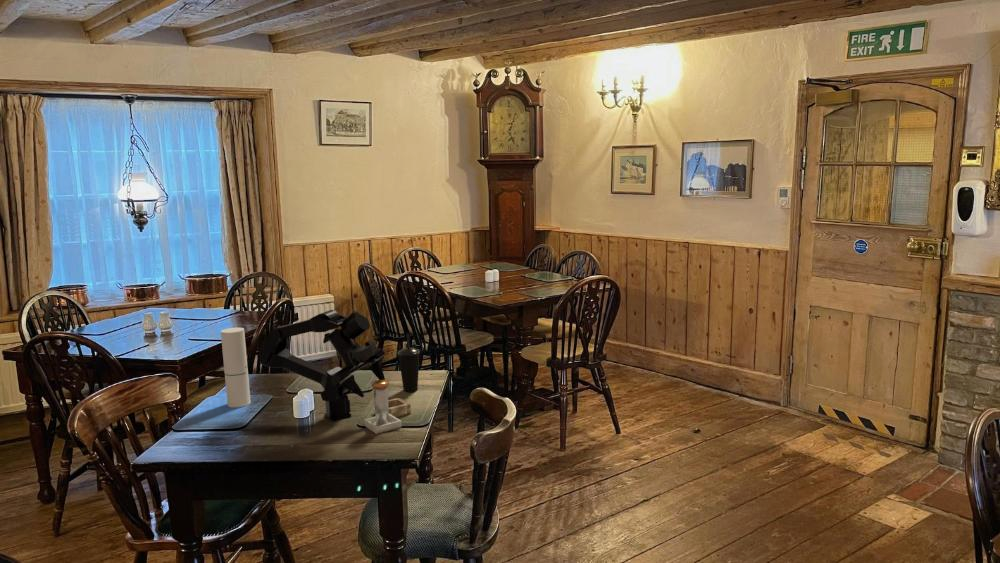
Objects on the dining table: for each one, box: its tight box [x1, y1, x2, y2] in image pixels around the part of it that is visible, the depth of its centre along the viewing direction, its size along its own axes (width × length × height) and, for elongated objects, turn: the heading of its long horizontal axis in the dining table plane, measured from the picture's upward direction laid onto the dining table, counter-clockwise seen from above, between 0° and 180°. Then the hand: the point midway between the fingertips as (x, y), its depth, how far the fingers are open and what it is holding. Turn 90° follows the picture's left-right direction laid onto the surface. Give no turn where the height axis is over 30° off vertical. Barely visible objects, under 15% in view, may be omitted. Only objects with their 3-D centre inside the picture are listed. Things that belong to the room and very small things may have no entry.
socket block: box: [388, 397, 412, 418], centre depth 222 cm, size 8×8×3 cm
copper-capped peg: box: [371, 379, 390, 426], centre depth 210 cm, size 5×5×13 cm
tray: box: [363, 414, 403, 435], centre depth 211 cm, size 8×8×2 cm
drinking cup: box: [397, 332, 421, 393], centre depth 243 cm, size 8×8×20 cm
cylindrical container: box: [220, 327, 252, 408], centre depth 232 cm, size 7×7×25 cm
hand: (374, 389), depth 215 cm, fingers open, 9 cm apart
